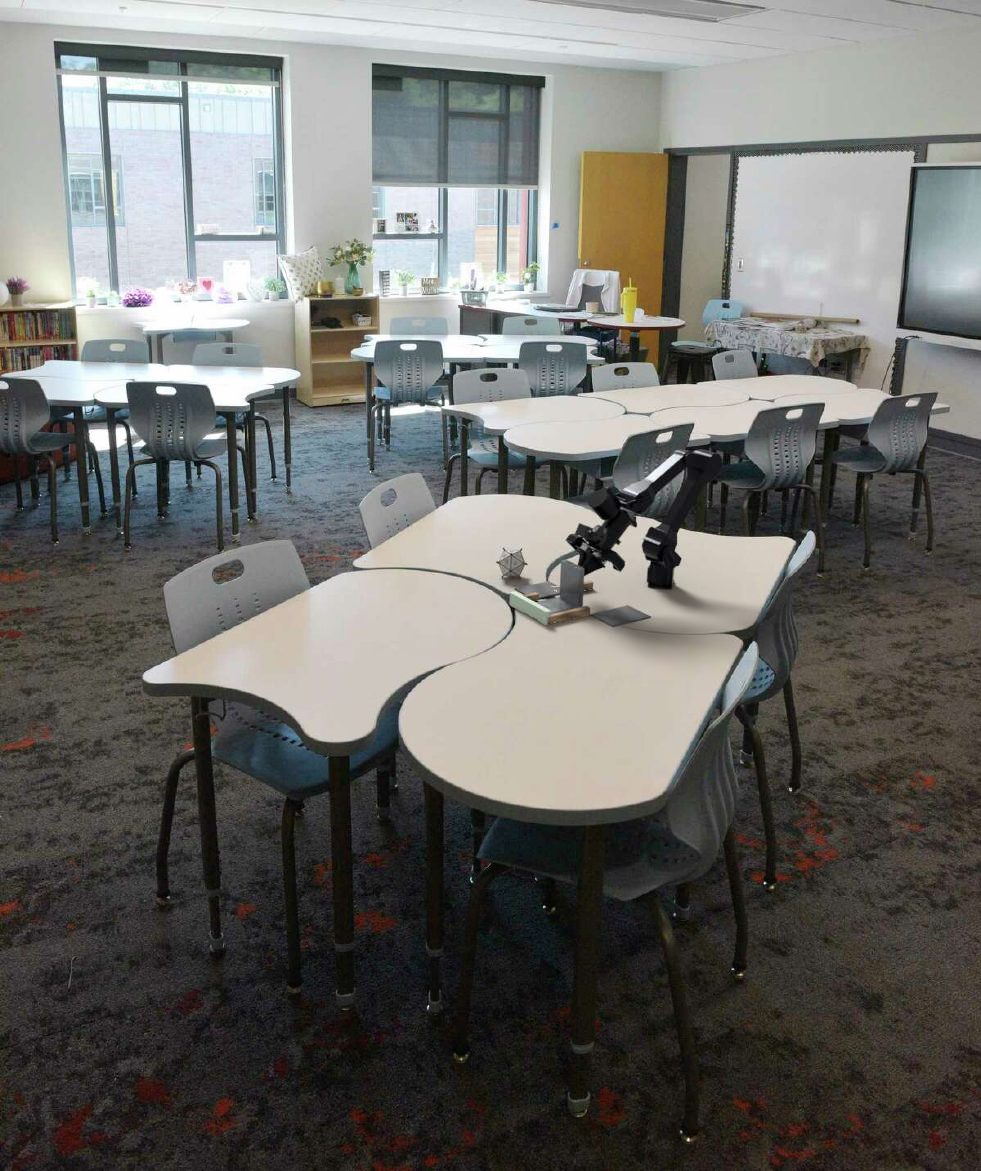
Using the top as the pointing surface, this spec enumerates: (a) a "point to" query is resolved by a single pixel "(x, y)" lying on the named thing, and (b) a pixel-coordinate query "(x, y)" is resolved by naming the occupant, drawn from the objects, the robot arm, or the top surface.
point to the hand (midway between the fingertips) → (575, 578)
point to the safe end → (529, 607)
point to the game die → (511, 563)
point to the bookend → (567, 589)
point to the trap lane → (608, 616)
